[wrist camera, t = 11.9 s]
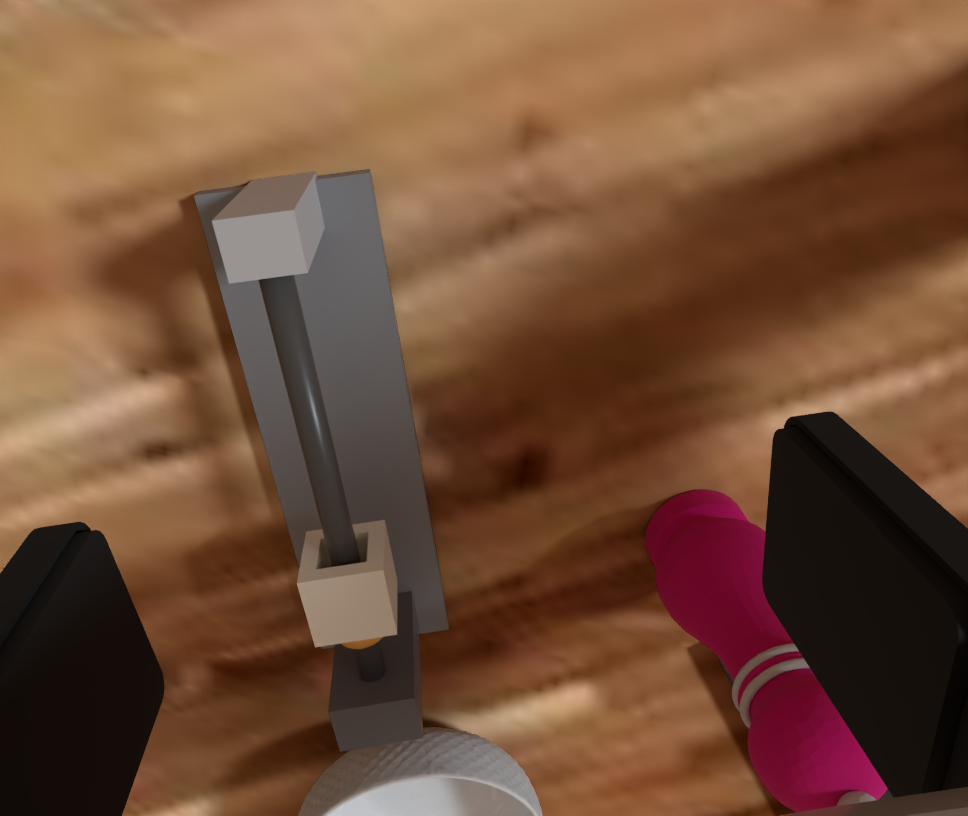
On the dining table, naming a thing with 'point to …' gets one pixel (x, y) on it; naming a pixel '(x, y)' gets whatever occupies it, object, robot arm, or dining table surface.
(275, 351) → the linear slide rail
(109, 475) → the dining table surface
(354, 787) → the cereal bowl
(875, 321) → the dining table surface
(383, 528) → the sleeve
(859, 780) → the pepper mill
